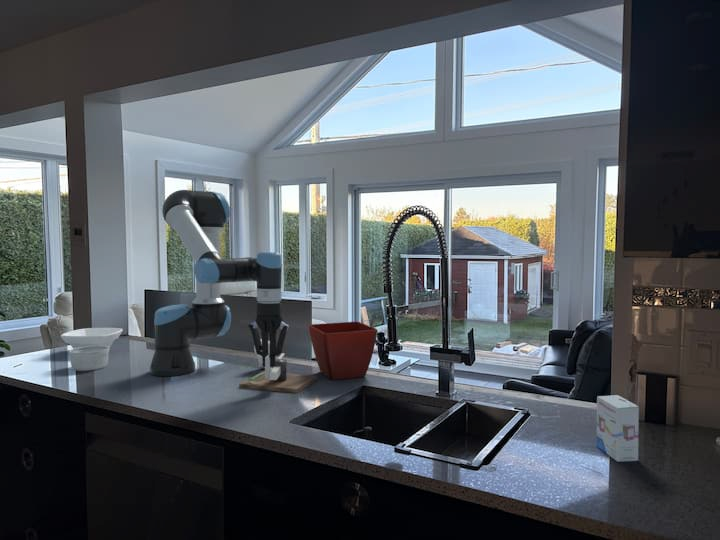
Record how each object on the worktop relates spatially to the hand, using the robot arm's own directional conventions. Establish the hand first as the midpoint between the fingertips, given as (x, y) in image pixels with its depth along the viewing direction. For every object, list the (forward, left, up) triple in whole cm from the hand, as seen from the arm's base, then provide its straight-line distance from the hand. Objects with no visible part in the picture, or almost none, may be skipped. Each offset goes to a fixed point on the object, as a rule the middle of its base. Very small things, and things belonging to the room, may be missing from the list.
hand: (268, 377), depth 159 cm
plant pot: (+16, +25, -4) cm, 30 cm away
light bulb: (-14, +24, -4) cm, 28 cm away
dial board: (0, +8, -4) cm, 9 cm away
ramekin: (-76, +7, -4) cm, 77 cm away
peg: (0, +7, -3) cm, 7 cm away
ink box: (+95, -21, -4) cm, 97 cm away
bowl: (-96, +29, -4) cm, 101 cm away
